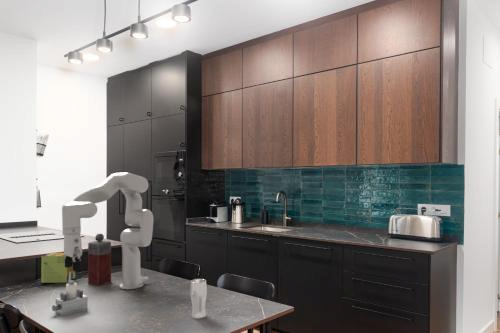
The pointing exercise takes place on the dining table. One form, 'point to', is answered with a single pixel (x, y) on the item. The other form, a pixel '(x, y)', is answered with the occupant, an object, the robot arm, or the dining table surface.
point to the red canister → (99, 261)
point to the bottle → (71, 290)
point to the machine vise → (71, 304)
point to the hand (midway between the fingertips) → (72, 268)
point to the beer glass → (198, 297)
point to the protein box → (55, 268)
